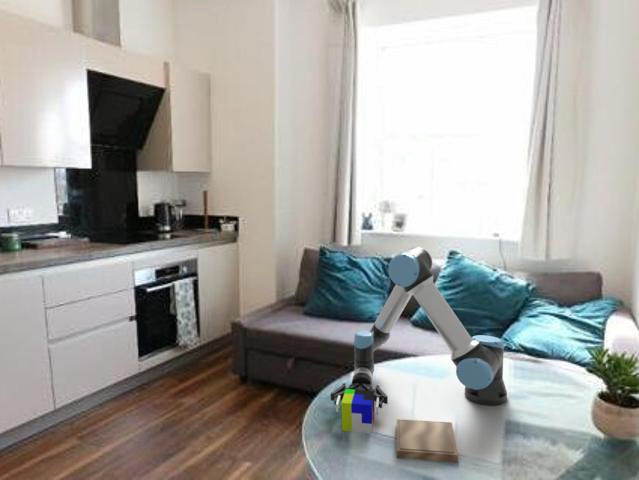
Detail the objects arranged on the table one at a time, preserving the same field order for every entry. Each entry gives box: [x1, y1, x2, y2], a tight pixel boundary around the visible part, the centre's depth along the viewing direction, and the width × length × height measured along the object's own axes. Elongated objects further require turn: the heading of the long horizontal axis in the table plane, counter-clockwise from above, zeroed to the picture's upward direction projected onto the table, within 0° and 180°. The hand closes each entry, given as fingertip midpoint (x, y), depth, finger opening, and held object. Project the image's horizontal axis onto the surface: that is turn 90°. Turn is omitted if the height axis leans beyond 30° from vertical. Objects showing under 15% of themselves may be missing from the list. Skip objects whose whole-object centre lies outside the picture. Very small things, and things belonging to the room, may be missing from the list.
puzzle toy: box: [340, 389, 376, 434], centre depth 163 cm, size 10×10×10 cm
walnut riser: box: [396, 418, 459, 464], centre depth 151 cm, size 18×18×3 cm
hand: (356, 409), depth 162 cm, fingers open, 13 cm apart
